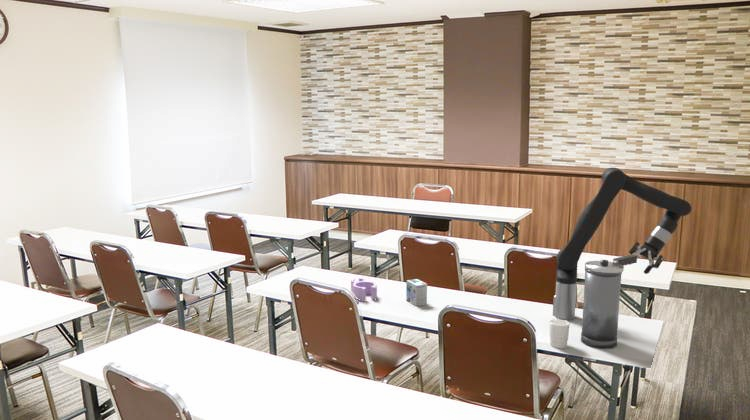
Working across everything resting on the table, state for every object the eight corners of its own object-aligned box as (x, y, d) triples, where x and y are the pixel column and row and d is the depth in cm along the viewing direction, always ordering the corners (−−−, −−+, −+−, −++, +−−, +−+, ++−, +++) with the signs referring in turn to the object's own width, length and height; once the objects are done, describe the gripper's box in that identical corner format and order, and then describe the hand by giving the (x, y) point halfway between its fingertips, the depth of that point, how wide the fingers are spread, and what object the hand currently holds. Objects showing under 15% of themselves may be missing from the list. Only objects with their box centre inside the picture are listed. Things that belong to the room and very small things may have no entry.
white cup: (546, 346, 248) (547, 323, 246) (550, 340, 255) (551, 318, 253) (566, 350, 244) (567, 327, 242) (569, 343, 251) (571, 321, 249)
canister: (573, 340, 255) (577, 267, 249) (595, 333, 262) (599, 262, 257) (602, 351, 243) (607, 275, 237) (624, 344, 250) (629, 270, 245)
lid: (577, 267, 250) (577, 259, 249) (618, 258, 265) (619, 250, 264) (608, 275, 237) (608, 267, 237) (650, 265, 252) (650, 257, 252)
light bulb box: (405, 300, 309) (405, 280, 307) (417, 298, 312) (417, 278, 310) (415, 306, 300) (416, 285, 298) (427, 304, 302) (427, 283, 301)
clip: (345, 291, 324) (345, 279, 323) (366, 289, 329) (366, 277, 327) (358, 302, 306) (358, 289, 305) (381, 299, 310) (381, 286, 309)
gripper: (641, 228, 269) (620, 258, 270) (669, 243, 258) (647, 273, 259) (647, 234, 273) (627, 263, 275) (675, 248, 263) (653, 279, 264)
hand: (636, 268), depth 267 cm, fingers open, 8 cm apart
